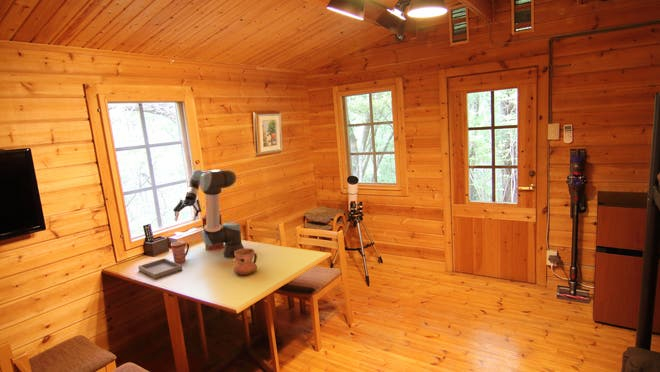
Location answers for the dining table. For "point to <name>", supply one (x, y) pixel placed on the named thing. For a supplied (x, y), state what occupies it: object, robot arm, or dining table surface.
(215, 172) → the robot arm
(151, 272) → the tray
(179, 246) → the mug
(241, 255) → the ceramic jug
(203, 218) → the food packaging
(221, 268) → the dining table surface
